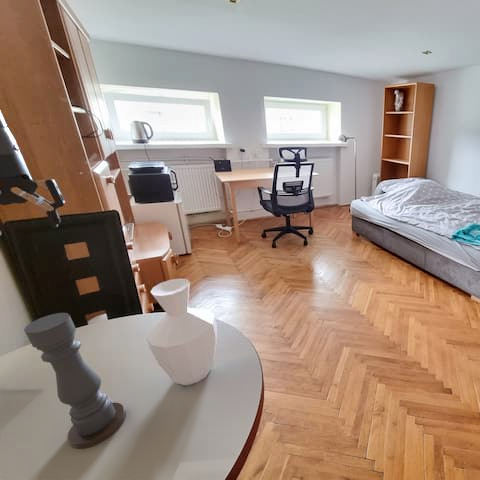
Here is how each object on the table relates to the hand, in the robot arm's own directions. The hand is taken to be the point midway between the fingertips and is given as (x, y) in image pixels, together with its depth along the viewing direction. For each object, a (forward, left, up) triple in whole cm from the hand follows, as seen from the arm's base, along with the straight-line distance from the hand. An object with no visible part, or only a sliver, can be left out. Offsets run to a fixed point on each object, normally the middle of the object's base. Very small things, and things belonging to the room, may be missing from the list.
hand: (27, 231), depth 61 cm
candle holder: (+14, -18, -37) cm, 43 cm away
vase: (+28, -5, -38) cm, 48 cm away
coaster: (+14, -18, -38) cm, 44 cm away
